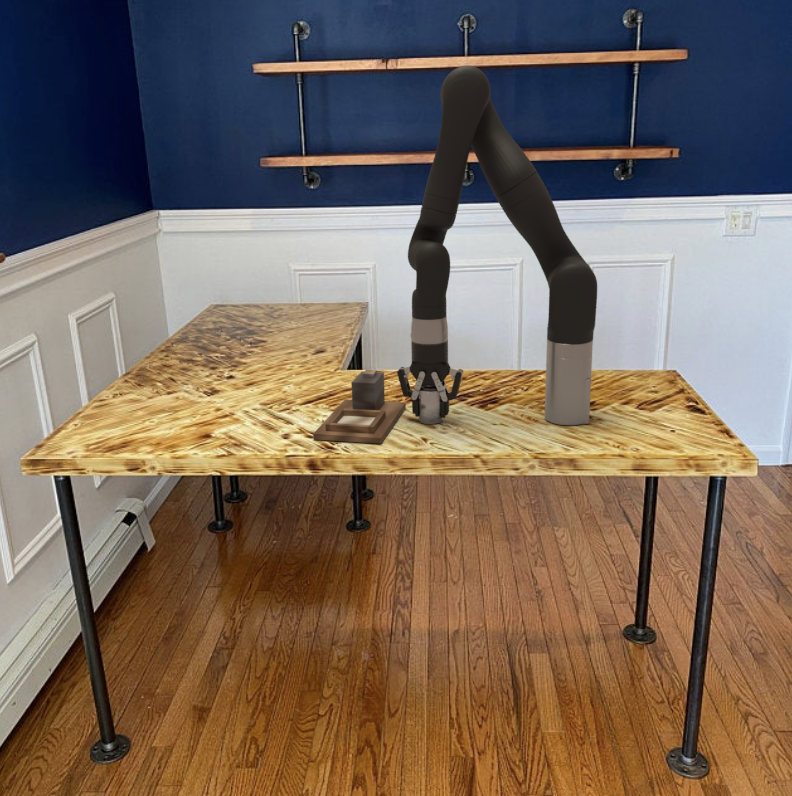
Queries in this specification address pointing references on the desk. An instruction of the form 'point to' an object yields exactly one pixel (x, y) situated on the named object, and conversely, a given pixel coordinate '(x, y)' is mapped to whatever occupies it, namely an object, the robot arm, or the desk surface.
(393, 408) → the dock
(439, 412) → the lens
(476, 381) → the desk surface
